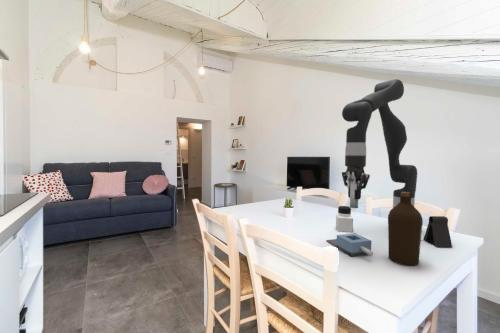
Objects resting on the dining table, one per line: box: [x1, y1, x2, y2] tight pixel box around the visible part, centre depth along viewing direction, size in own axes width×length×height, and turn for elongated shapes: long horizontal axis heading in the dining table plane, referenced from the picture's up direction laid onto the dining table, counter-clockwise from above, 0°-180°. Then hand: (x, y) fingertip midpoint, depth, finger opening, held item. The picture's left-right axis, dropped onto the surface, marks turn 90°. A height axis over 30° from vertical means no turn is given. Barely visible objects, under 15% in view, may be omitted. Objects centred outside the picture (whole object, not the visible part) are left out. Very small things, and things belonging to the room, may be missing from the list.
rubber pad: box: [326, 238, 337, 248], centre depth 106 cm, size 7×7×1 cm
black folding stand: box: [422, 215, 453, 249], centre depth 106 cm, size 9×6×12 cm, turn 177°
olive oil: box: [387, 192, 424, 267], centre depth 89 cm, size 11×11×25 cm
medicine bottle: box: [335, 205, 354, 233], centre depth 126 cm, size 7×7×12 cm
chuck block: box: [336, 232, 374, 258], centre depth 95 cm, size 9×14×6 cm, turn 16°
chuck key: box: [348, 174, 359, 209], centre depth 97 cm, size 5×3×13 cm, turn 106°
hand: (354, 198), depth 97 cm, fingers closed on chuck key, 3 cm apart
